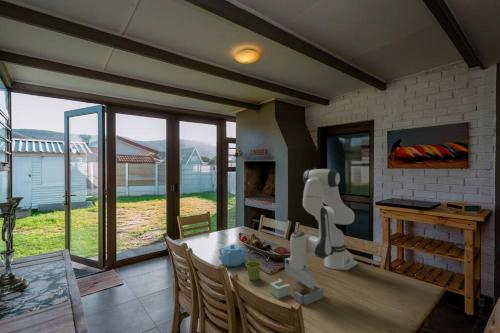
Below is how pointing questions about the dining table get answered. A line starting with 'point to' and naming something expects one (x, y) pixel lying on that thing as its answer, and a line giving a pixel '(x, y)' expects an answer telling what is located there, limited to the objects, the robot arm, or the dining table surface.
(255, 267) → the plant pot
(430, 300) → the dining table surface
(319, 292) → the dock
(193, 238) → the dining table surface
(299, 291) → the block
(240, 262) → the decorative pot
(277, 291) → the pale grey notched piece
